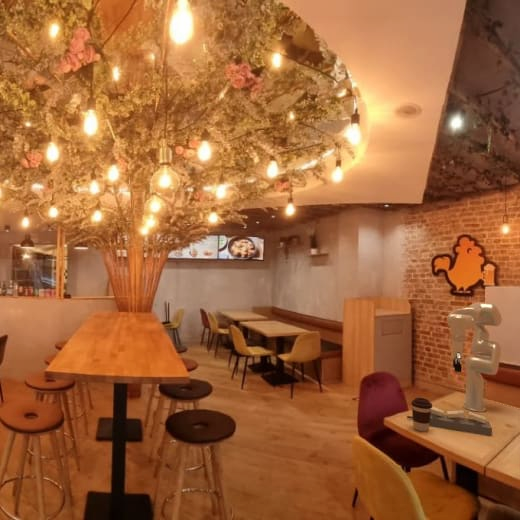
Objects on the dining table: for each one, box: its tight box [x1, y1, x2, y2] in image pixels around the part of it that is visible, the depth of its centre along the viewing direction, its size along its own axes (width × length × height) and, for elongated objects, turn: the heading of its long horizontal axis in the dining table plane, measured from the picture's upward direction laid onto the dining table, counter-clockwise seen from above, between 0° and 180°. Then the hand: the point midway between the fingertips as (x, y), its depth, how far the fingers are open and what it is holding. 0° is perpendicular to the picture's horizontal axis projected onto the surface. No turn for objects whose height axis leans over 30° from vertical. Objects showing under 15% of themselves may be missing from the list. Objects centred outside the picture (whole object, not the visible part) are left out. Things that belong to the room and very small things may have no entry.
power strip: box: [406, 413, 493, 437], centre depth 217 cm, size 10×40×5 cm, turn 69°
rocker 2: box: [467, 410, 487, 424], centre depth 214 cm, size 5×8×2 cm, turn 69°
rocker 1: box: [431, 406, 445, 417], centre depth 221 cm, size 5×8×2 cm, turn 69°
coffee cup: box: [411, 397, 433, 432], centre depth 211 cm, size 10×10×15 cm
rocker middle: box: [446, 409, 466, 418], centre depth 218 cm, size 5×8×2 cm, turn 69°
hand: (457, 369), depth 225 cm, fingers open, 9 cm apart
